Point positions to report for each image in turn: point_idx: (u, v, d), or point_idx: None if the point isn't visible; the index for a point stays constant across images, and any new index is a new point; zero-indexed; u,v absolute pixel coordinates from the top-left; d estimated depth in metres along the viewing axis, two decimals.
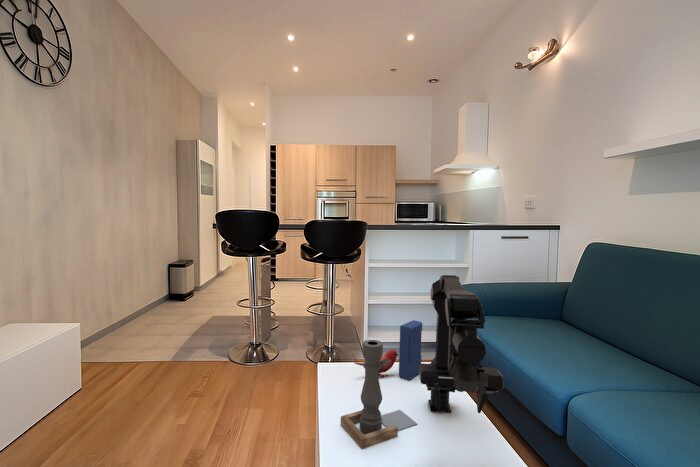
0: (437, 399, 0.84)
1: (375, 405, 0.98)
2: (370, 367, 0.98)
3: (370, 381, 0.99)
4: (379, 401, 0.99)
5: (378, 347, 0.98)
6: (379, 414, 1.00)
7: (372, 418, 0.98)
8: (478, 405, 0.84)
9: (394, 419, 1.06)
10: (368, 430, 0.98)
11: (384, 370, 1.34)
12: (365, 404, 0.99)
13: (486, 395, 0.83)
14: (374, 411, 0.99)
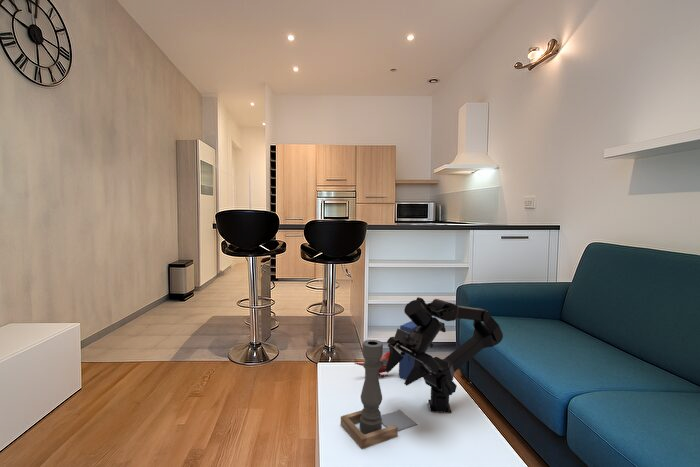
0: (388, 360, 1.09)
1: (375, 405, 0.98)
2: (370, 367, 0.98)
3: (370, 381, 0.99)
4: (379, 401, 0.99)
5: (378, 347, 0.98)
6: (379, 414, 1.00)
7: (372, 418, 0.98)
8: None
9: (394, 419, 1.06)
10: (368, 430, 0.98)
11: (384, 370, 1.34)
12: (365, 404, 0.99)
13: (415, 368, 1.00)
14: (374, 411, 0.99)
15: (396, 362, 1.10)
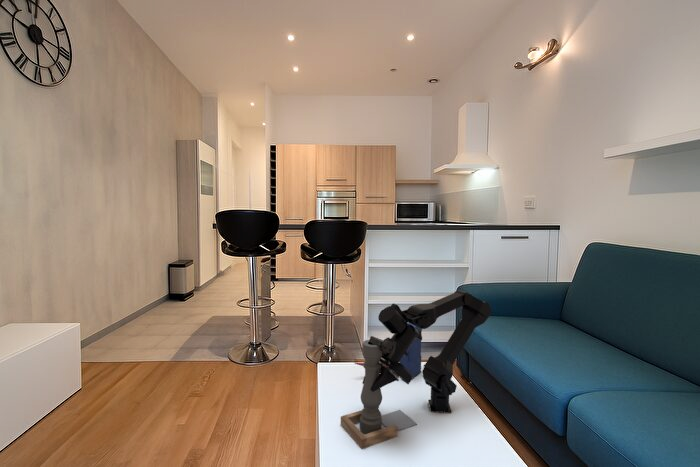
0: None
1: (375, 405, 0.98)
2: (370, 367, 0.98)
3: (370, 381, 0.99)
4: (379, 401, 0.99)
5: (378, 347, 0.98)
6: (379, 414, 1.00)
7: (372, 418, 0.98)
8: None
9: (394, 419, 1.06)
10: (368, 430, 0.98)
11: None
12: (365, 404, 0.99)
13: (381, 374, 0.98)
14: (374, 411, 0.99)
15: None
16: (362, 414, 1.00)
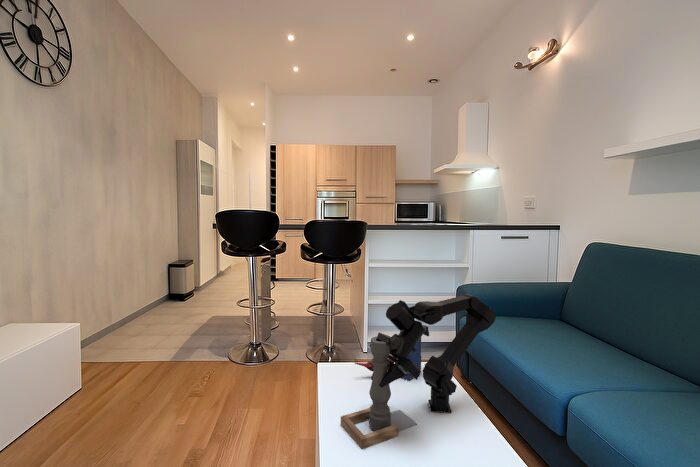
0: None
1: (384, 400, 1.00)
2: (378, 363, 0.99)
3: (378, 377, 1.00)
4: (388, 396, 1.00)
5: (386, 343, 0.99)
6: (388, 409, 1.01)
7: (381, 413, 1.00)
8: None
9: (394, 419, 1.06)
10: (378, 425, 1.00)
11: None
12: (374, 400, 1.00)
13: (390, 370, 0.99)
14: (383, 406, 1.01)
15: None
16: (371, 410, 1.02)
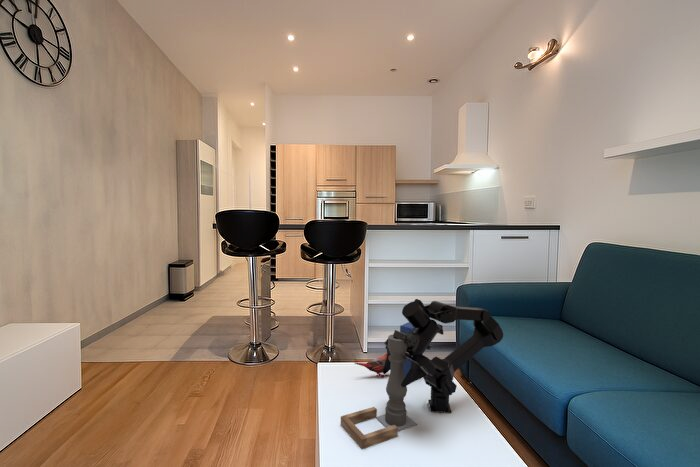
0: (385, 362, 1.09)
1: (401, 397, 1.02)
2: (395, 360, 1.02)
3: (395, 374, 1.03)
4: (404, 393, 1.03)
5: (404, 341, 1.02)
6: (404, 405, 1.04)
7: (398, 409, 1.03)
8: None
9: None
10: (394, 421, 1.03)
11: None
12: (391, 396, 1.03)
13: (411, 370, 1.00)
14: (399, 402, 1.03)
15: None
16: (388, 405, 1.04)
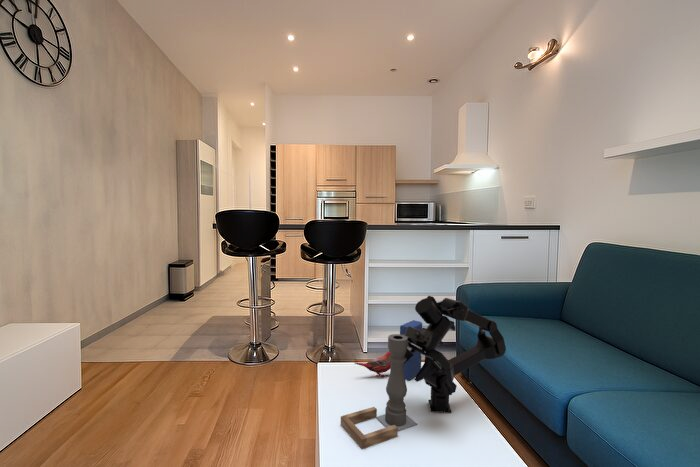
0: None
1: (401, 397, 1.02)
2: (395, 360, 1.02)
3: (395, 374, 1.03)
4: (404, 393, 1.03)
5: (404, 341, 1.02)
6: (404, 405, 1.04)
7: (398, 409, 1.03)
8: None
9: None
10: (394, 421, 1.03)
11: (384, 370, 1.34)
12: (391, 396, 1.03)
13: (425, 365, 1.02)
14: (399, 402, 1.03)
15: (406, 359, 1.12)
16: (388, 405, 1.04)
